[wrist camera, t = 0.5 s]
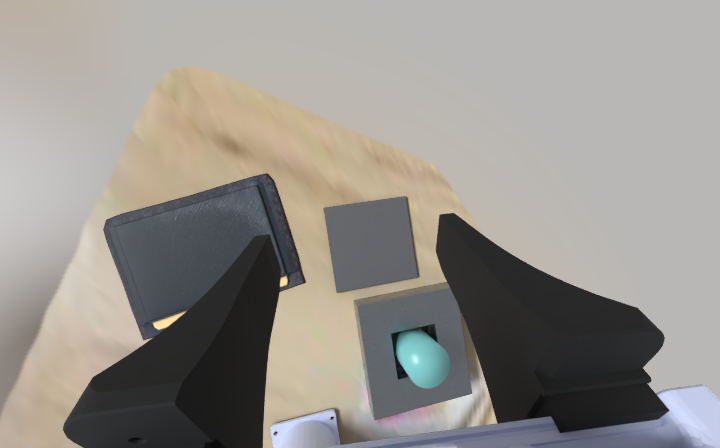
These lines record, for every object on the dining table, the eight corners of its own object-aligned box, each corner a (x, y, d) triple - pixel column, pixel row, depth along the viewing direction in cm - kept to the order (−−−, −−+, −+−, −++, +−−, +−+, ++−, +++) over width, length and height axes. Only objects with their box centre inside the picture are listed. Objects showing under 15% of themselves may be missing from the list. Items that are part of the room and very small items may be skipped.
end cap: (428, 356, 41) (453, 382, 34) (393, 364, 40) (411, 393, 33) (423, 320, 41) (446, 339, 34) (387, 327, 40) (404, 348, 33)
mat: (416, 276, 41) (417, 277, 40) (336, 292, 39) (336, 292, 38) (404, 196, 40) (405, 196, 40) (323, 208, 39) (323, 207, 38)
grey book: (271, 169, 36) (307, 289, 37) (273, 172, 38) (307, 286, 39) (91, 215, 33) (133, 345, 33) (102, 216, 35) (142, 339, 35)
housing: (460, 381, 41) (472, 393, 39) (369, 405, 39) (374, 420, 36) (445, 282, 41) (456, 286, 38) (353, 300, 39) (357, 306, 36)
